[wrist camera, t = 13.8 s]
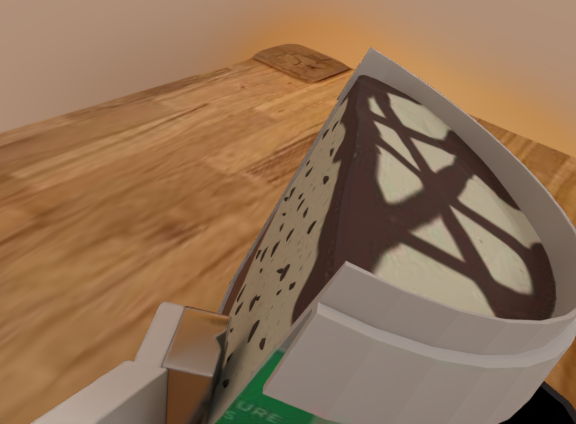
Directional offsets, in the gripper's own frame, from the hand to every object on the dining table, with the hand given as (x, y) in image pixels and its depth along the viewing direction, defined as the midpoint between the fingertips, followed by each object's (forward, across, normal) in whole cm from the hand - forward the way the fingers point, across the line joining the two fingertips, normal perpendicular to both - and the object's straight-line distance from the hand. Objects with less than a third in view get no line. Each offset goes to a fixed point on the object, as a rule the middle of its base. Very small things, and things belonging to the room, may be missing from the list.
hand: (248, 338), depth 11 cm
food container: (+2, -1, +6) cm, 7 cm away
